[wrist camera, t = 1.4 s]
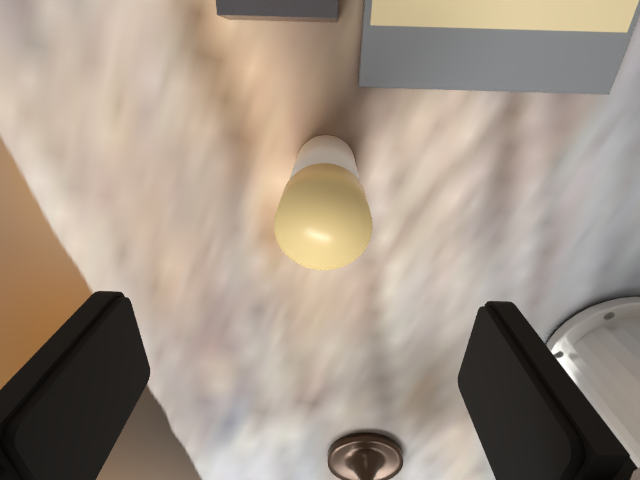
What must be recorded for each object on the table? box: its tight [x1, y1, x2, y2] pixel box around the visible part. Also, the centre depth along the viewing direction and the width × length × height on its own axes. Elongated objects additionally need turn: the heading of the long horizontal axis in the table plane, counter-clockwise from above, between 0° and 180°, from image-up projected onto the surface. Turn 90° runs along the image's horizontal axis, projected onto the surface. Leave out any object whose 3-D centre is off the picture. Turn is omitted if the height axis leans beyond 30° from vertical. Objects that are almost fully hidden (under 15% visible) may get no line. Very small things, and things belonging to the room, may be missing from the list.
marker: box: [274, 135, 372, 270], centre depth 21 cm, size 5×5×11 cm
